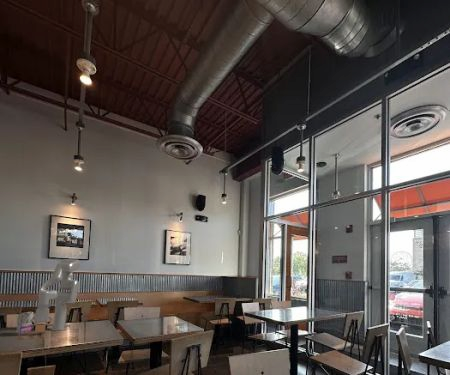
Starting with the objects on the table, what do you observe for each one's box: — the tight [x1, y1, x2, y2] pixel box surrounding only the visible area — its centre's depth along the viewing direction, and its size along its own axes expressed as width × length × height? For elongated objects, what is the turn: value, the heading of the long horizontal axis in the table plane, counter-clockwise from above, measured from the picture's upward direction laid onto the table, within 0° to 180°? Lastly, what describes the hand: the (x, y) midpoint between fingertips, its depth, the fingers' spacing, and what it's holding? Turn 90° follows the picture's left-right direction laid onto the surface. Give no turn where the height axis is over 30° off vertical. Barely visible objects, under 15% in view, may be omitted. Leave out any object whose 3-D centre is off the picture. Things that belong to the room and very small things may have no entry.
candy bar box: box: [15, 311, 35, 334], centre depth 285 cm, size 11×5×16 cm, turn 161°
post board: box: [16, 332, 48, 340], centre depth 272 cm, size 20×20×8 cm
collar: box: [34, 323, 46, 333], centre depth 278 cm, size 7×7×5 cm
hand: (40, 330), depth 277 cm, fingers closed on collar, 7 cm apart
